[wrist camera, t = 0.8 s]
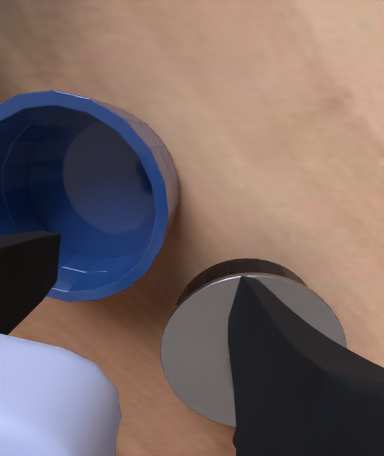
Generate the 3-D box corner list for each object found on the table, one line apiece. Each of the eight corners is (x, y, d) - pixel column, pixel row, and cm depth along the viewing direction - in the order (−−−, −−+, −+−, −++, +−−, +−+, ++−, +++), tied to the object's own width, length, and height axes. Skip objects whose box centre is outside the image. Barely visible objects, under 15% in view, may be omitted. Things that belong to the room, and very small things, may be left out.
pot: (161, 277, 23) (146, 320, 17) (18, 243, 23) (-41, 276, 17) (195, 126, 19) (188, 122, 14) (26, 85, 19) (-45, 66, 14)
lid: (369, 292, 19) (420, 343, 14) (304, 430, 23) (328, 506, 18) (183, 248, 19) (173, 284, 14) (148, 394, 23) (132, 460, 18)
